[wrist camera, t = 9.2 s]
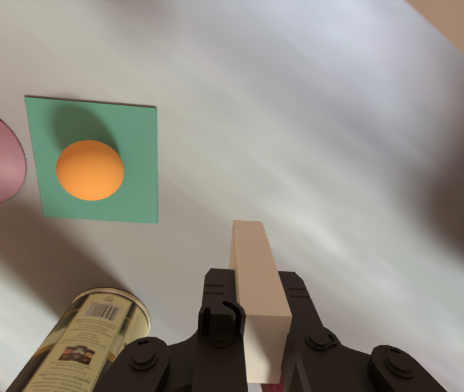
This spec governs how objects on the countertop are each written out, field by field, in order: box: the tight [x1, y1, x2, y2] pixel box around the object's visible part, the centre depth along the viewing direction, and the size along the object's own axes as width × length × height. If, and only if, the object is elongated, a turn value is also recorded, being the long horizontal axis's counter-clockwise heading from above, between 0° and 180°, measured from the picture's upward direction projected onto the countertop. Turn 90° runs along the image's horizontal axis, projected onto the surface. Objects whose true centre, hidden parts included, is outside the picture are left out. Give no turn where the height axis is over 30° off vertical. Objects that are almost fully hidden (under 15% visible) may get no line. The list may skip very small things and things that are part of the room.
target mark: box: [25, 97, 158, 224], centre depth 27 cm, size 12×12×1 cm
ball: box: [56, 140, 124, 201], centre depth 24 cm, size 6×6×6 cm
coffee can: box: [6, 288, 151, 392], centre depth 27 cm, size 10×10×14 cm
